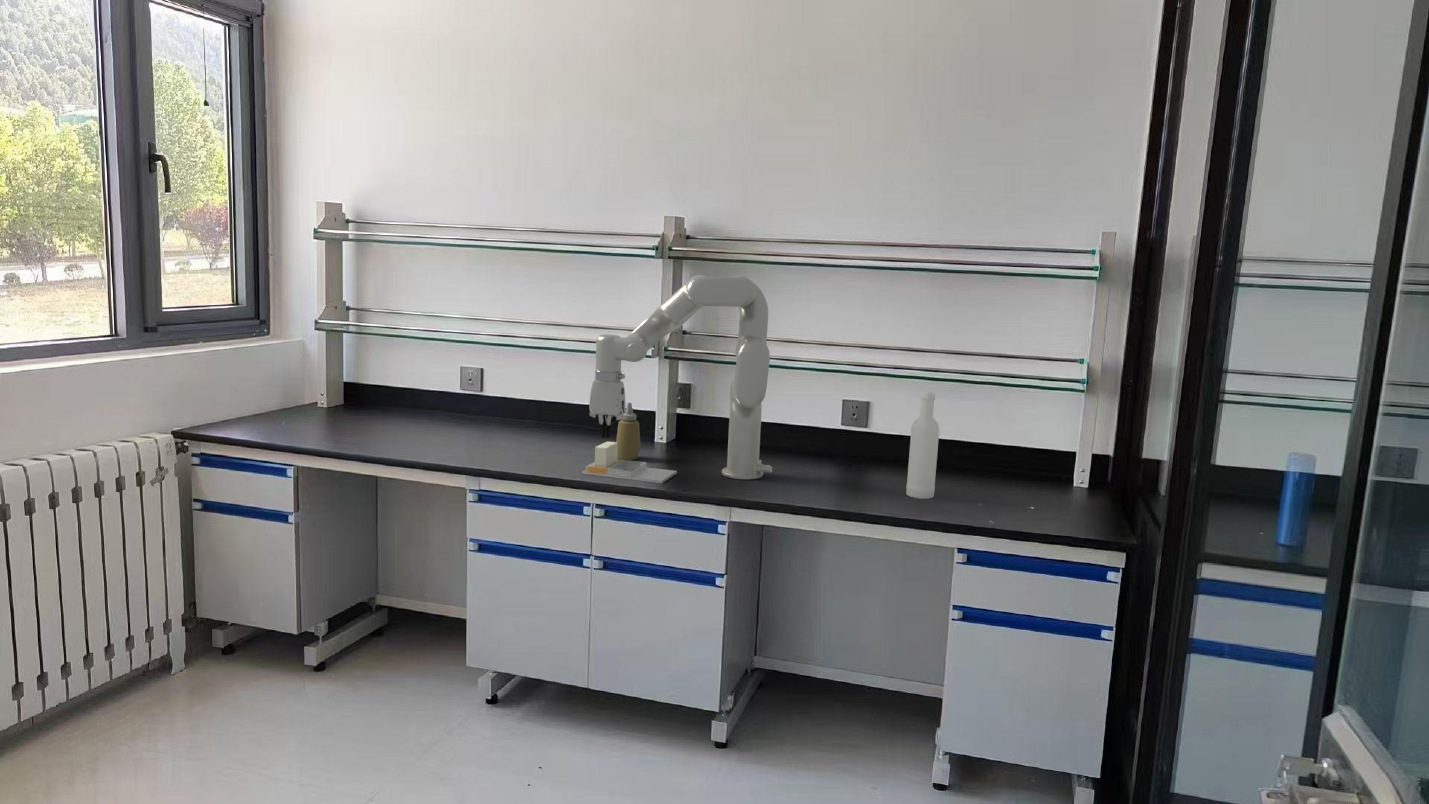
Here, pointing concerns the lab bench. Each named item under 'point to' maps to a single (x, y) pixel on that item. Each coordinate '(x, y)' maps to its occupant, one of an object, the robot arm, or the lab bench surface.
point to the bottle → (923, 451)
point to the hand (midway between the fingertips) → (606, 437)
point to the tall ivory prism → (606, 454)
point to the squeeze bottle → (628, 435)
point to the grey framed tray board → (631, 471)
